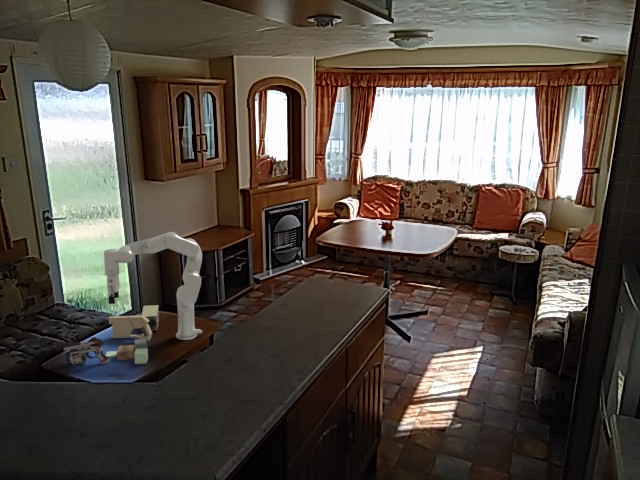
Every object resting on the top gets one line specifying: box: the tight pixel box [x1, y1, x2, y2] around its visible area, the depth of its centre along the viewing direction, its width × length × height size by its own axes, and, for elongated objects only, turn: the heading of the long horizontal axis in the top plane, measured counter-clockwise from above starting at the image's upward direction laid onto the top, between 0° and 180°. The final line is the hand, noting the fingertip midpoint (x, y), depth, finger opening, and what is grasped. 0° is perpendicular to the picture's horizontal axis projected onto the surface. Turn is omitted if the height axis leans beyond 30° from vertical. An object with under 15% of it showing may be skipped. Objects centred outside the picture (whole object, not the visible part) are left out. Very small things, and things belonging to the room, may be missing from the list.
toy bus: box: [140, 304, 160, 332], centre depth 330 cm, size 10×23×10 cm, turn 14°
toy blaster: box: [62, 336, 110, 365], centre depth 277 cm, size 4×21×15 cm, turn 95°
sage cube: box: [134, 347, 149, 365], centre depth 283 cm, size 6×6×6 cm
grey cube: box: [133, 338, 148, 351], centre depth 295 cm, size 6×6×6 cm
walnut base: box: [116, 344, 135, 361], centre depth 288 cm, size 8×8×5 cm
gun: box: [108, 314, 153, 342], centre depth 309 cm, size 24×3×15 cm, turn 84°
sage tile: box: [105, 350, 117, 358], centre depth 289 cm, size 6×6×1 cm
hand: (113, 300), depth 295 cm, fingers open, 9 cm apart
